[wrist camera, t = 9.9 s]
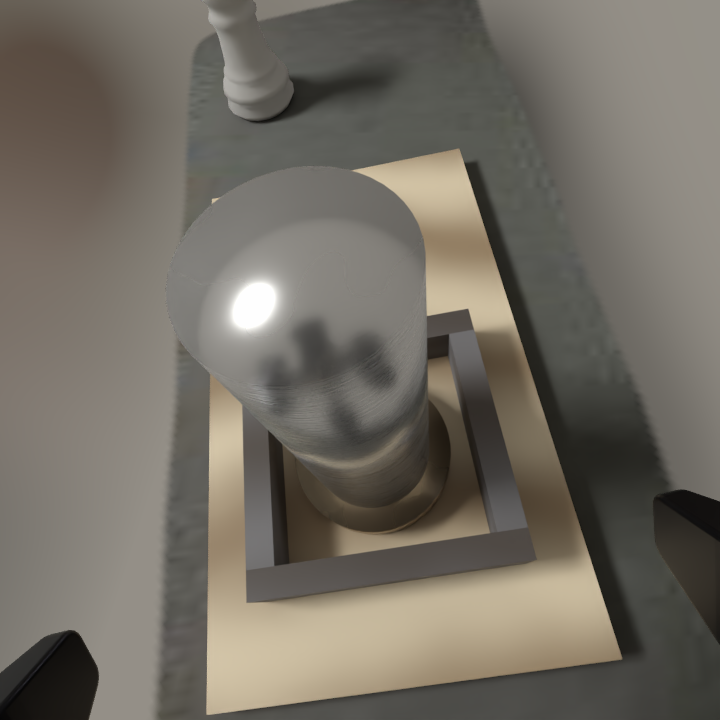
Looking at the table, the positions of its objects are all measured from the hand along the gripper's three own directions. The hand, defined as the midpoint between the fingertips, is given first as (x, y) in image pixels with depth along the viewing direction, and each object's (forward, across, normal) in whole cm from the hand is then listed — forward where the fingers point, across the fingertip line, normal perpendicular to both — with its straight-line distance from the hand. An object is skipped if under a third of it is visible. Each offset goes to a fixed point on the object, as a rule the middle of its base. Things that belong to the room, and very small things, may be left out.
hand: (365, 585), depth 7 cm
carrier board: (+15, 0, +2) cm, 15 cm away
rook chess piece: (+30, +2, -13) cm, 33 cm away
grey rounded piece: (+12, 0, +4) cm, 12 cm away
